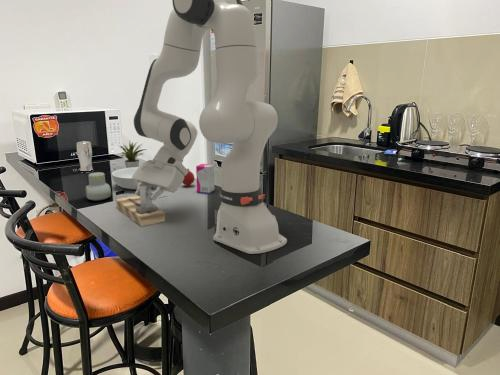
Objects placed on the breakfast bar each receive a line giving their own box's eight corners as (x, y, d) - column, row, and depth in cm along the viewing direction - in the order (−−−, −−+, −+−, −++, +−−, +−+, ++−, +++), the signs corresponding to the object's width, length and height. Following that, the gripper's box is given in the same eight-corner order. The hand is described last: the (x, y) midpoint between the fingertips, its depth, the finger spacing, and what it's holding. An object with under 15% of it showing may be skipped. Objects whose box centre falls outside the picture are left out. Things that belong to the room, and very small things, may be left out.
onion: (192, 188, 164) (191, 170, 162) (179, 187, 165) (178, 169, 163) (196, 185, 170) (195, 167, 167) (184, 184, 171) (183, 166, 169)
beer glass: (80, 170, 197) (76, 141, 193) (94, 169, 199) (91, 140, 195) (78, 173, 191) (75, 143, 187) (93, 172, 193) (90, 142, 189)
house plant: (130, 177, 182) (128, 144, 177) (110, 174, 188) (107, 141, 184) (152, 172, 194) (150, 140, 189) (132, 169, 200) (130, 138, 196)
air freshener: (112, 200, 146) (110, 175, 144) (89, 204, 142) (86, 178, 140) (107, 193, 155) (105, 170, 153) (85, 196, 152) (83, 172, 149)
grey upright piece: (157, 209, 125) (156, 186, 123) (140, 213, 122) (138, 189, 120) (153, 206, 129) (151, 183, 126) (135, 210, 125) (134, 186, 123)
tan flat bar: (165, 221, 125) (164, 212, 124) (141, 226, 120) (141, 217, 119) (137, 203, 143) (137, 195, 142) (116, 207, 139) (115, 199, 138)
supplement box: (215, 190, 161) (214, 164, 158) (209, 194, 156) (208, 166, 153) (202, 189, 163) (201, 163, 160) (196, 192, 157) (195, 165, 154)
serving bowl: (106, 193, 156) (104, 177, 154) (121, 181, 176) (120, 166, 174) (157, 193, 156) (156, 177, 155) (166, 181, 177) (165, 166, 175)
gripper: (141, 154, 132) (119, 186, 128) (181, 161, 120) (158, 197, 115) (152, 164, 137) (131, 196, 132) (192, 172, 125) (170, 208, 120)
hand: (144, 197), depth 124 cm, fingers open, 6 cm apart
